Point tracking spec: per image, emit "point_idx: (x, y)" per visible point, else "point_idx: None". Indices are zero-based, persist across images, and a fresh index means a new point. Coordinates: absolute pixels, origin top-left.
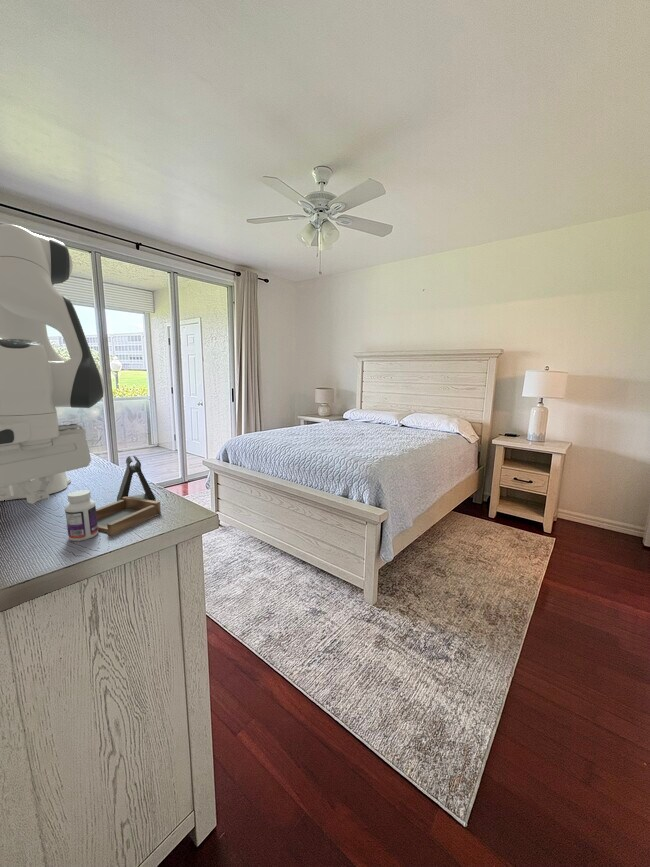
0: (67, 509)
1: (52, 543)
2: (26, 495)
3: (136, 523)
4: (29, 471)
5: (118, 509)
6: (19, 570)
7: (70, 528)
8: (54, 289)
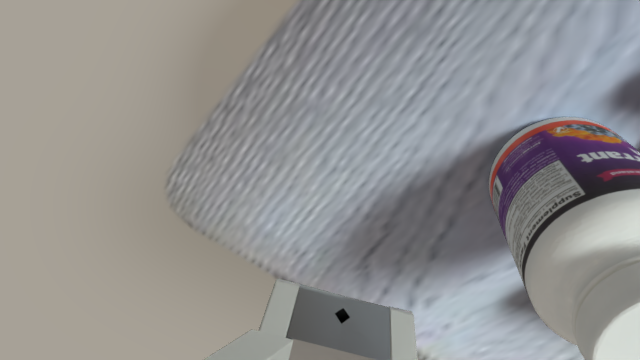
0: (541, 256)
1: (465, 86)
2: (263, 320)
3: None
4: None
5: None
6: (229, 149)
7: (503, 197)
8: None
